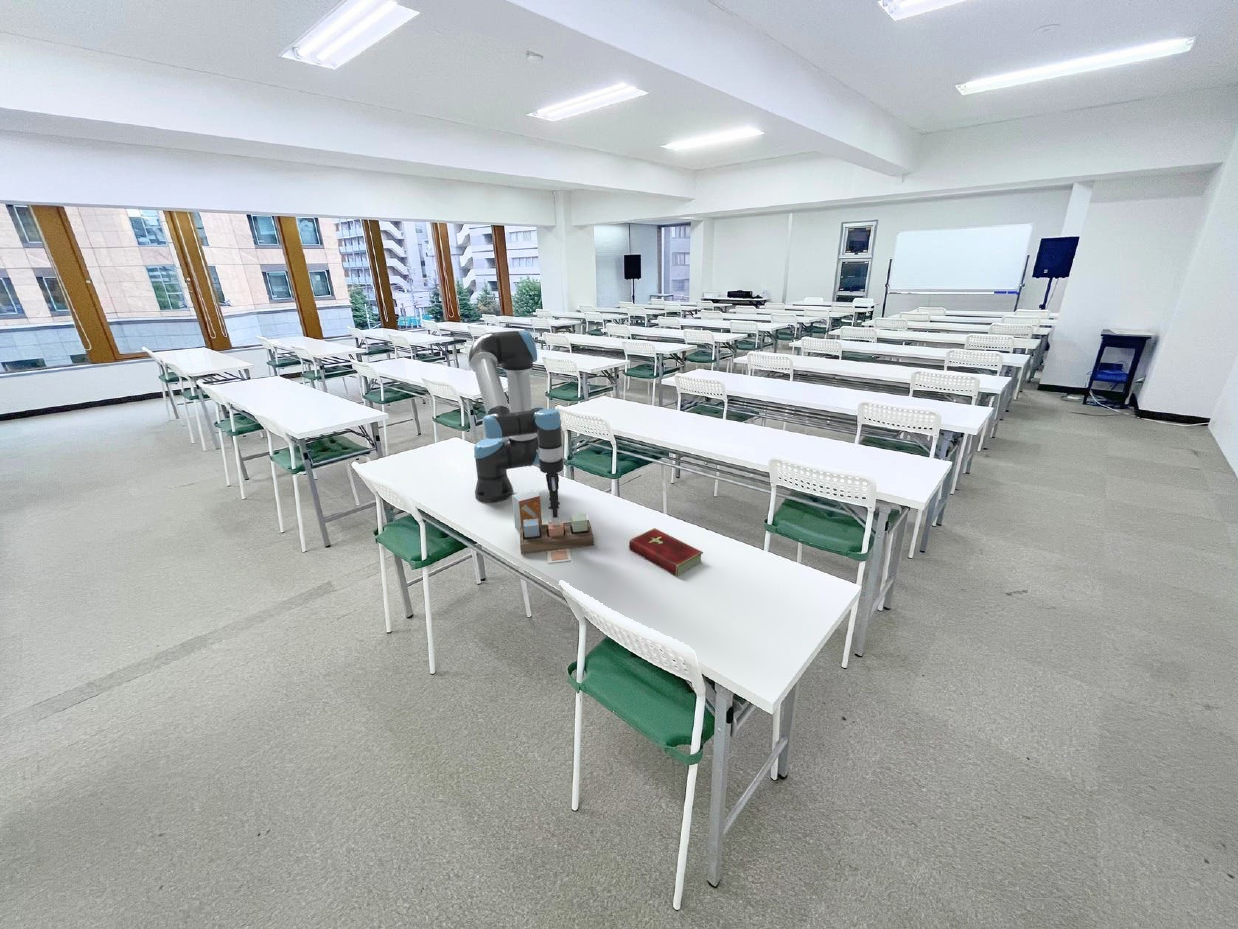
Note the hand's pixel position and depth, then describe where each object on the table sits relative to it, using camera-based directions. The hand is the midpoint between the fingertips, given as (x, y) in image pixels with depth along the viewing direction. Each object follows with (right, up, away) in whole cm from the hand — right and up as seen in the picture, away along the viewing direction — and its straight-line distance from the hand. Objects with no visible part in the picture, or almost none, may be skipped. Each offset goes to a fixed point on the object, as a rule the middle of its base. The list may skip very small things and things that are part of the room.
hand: (555, 524), depth 165 cm
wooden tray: (0, -6, +2) cm, 6 cm away
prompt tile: (+2, -9, -7) cm, 12 cm away
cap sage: (+8, -2, +3) cm, 9 cm away
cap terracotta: (0, -5, +2) cm, 5 cm away
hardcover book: (+36, -10, -7) cm, 38 cm away
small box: (-11, -3, +11) cm, 16 cm away
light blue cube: (-8, -4, 0) cm, 9 cm away
